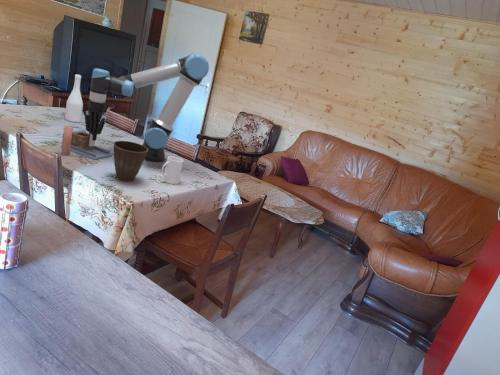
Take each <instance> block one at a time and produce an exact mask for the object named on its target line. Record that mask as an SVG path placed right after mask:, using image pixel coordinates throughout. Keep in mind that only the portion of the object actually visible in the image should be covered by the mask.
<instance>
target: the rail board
mask: <svg viewBox="0 0 500 375" xmlns="http://www.w3.org/2000/svg"><path fill="white" fill-rule="evenodd" d="M73 132H85V133H87V131H86V130H76V131H74V130H73ZM73 132H72V133H73ZM63 136H64V132H63V134H62V137H63ZM62 145H63V139H62V142H61V146H62ZM70 152H73V153H75V154H78V155H80V156H82V157H86V158H87V159H89V160H93V161H98V160H101V159H105V158H110V157H113V156H114V153H113V154H112V153H111V150H107V149H105V148H102V147H100V146H96V145H95V144H94V147H93V149H89V150H84V149H81V148H78V147H76V146H73V145H71V148H70Z"/></svg>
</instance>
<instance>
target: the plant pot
mask: <svg viewBox="0 0 500 375" xmlns="http://www.w3.org/2000/svg"><path fill="white" fill-rule="evenodd" d="M147 151H148V149H147V148H146V147H145V146H143V144H140V143H137V142H133V141H130V140H129V141H127V140H117V141H114V142H113V162H114V170H115V174H116V178H117V179H118V180H120V181H123V182H132V181H134V179H135V178H136V176H137V175H138V173H139V172H140V170H141V168H142V166H143V164H144V161H145V157H146V154H147Z"/></svg>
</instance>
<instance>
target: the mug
mask: <svg viewBox="0 0 500 375" xmlns="http://www.w3.org/2000/svg"><path fill="white" fill-rule="evenodd" d="M184 162H185V161H184V159H183V158H181V157H178V156H173V155H170V156H167V158H166V162H165V163H164V164H163V165H162V166H161V167H162V168H161V174H162V181H163V182H165V183H167V184H171V185H178V184H179V183H180V178H181V174H182V171H183V170H182V169H183V164H184Z"/></svg>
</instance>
